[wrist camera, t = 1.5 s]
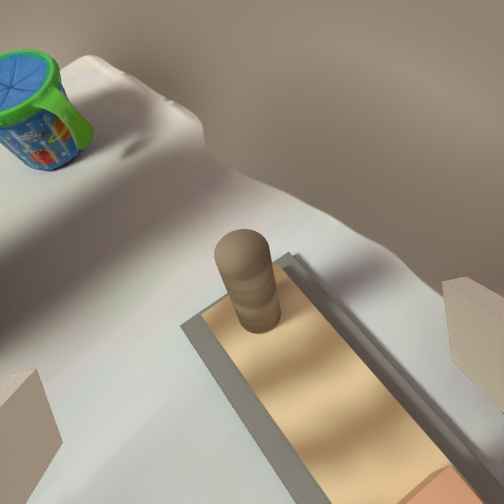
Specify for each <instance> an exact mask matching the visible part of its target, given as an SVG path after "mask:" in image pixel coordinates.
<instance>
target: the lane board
mask: <svg viewBox="0 0 504 504" xmlns="http://www.w3.org/2000/svg"><path fill="white" fill-rule="evenodd" d="M276 263H277V264H278V265H279V266H280V267H281V268H282V270H283V271H284V272H285V273H286V274H287V275H288V276H289V278H290V279H291V280H292V281H293V282H294V283H295V284H296V286H297V287H298V288H299V289H300V290H301V291H302V292H303V294H304V295H305V296H306V297H307V298H308V299H309V300H310V302H311V303H312V304H313V305H314V306H315V307H316V308H317V310H318V311H319V312H320V313H321V314H322V315H323V316H324V318H325V319H326V320H327V321H328V322H329V323H330V325H331V326H332V327H333V328H334V329H335V330H336V331H337V333H338V334H339V335H340V336H341V337H342V338H343V339H344V341H345V342H346V343H347V344H348V345H349V346H350V347H351V349H352V350H353V351H354V352H355V353H356V354H357V355H358V357H359V358H360V359H361V360H362V361H363V362H364V363H365V365H366V366H367V367H368V368H369V369H370V370H371V371H372V373H373V374H374V375H375V376H376V377H377V378H378V379H379V381H380V382H381V383H382V384H383V385H384V386H385V387H386V389H387V390H388V391H389V392H390V393H391V394H392V396H393V397H394V398H395V399H396V400H397V401H398V402H399V404H400V405H401V406H402V407H403V408H404V409H405V410H406V412H407V413H408V414H409V415H410V416H411V417H412V418H413V420H414V421H415V422H416V423H417V424H418V425H419V426H420V428H421V429H422V430H423V431H424V432H425V433H426V434H427V436H428V437H429V438H430V439H431V440H432V441H433V442H434V444H435V445H436V446H437V447H438V448H439V449H440V450H441V452H442V453H443V454H444V455H445V456H446V457H447V458H448V460H449V461H450V462H451V463H452V464H453V465H454V467H455V468H456V469H457V470H458V471H459V472H460V473H461V475H462V476H463V477H464V478H465V479H466V480H467V481H468V483H469V484H470V485H471V486H472V487H473V488H474V489H475V491H476V492H477V493H478V494H479V495H480V496H481V497H482V499H483V500H484V501H485V502H486V503H487V504H504V488H503V487H502V486H501V485H500V484H499V482H498V481H497V480H496V479H495V478H494V477H493V476H492V475H491V474H490V473H489V471H488V470H487V469H486V468H485V467H484V466H483V465H482V464H481V463H480V462H479V460H478V459H477V458H476V457H475V456H474V455H473V454H472V453H471V452H470V451H469V449H468V448H467V447H466V446H465V445H464V444H463V443H462V442H461V441H460V440H459V438H458V437H457V436H456V435H455V434H454V433H453V432H452V431H451V430H450V429H449V427H448V426H447V425H446V424H445V423H444V422H443V421H442V420H441V419H440V417H439V416H438V415H437V414H436V413H435V412H434V411H433V410H432V409H431V408H430V406H429V405H428V404H427V403H426V402H425V401H424V400H423V399H422V398H421V397H420V395H419V394H418V393H417V392H416V391H415V390H414V389H413V388H412V387H411V386H410V384H409V383H408V382H407V381H406V380H405V379H404V378H403V377H402V376H401V375H400V373H399V372H398V371H397V370H396V369H395V368H394V367H393V366H392V365H391V364H390V362H389V361H388V360H387V359H386V358H385V357H384V356H383V355H382V354H381V353H380V351H379V350H378V349H377V348H376V347H375V346H374V345H373V344H372V343H371V342H370V340H369V339H368V338H367V337H366V336H365V335H364V334H363V333H362V332H361V331H360V329H359V328H358V327H357V326H356V325H355V324H354V323H353V322H352V321H351V320H350V318H349V317H348V316H347V315H346V314H345V313H344V312H343V311H342V310H341V309H340V307H339V306H338V305H337V304H336V303H335V302H334V301H333V300H332V299H331V298H330V296H329V295H328V294H327V293H326V292H325V291H324V290H323V289H322V288H321V287H320V285H319V284H318V283H317V282H316V281H315V280H314V279H313V278H312V277H311V276H310V274H309V273H308V272H307V271H306V270H305V269H304V268H303V267H302V266H301V265H300V263H299V262H298V261H297V260H296V259H295V258H294V257H293V256H292V255H291V254H290V252H287V253H286V254H285V255H283V256H282V257H280V258H279V259H277V260H276V261H274V262H273V263H272V266H273V265H274V264H276ZM227 296H229V295H228V293H227V294H226V295H224V296H223V297H221V298H220V299H218V300H217V301H216V302H214V303H213V304H211V305H210V306H208V307H207V308H205V309H204V310H202V311H201V312H199V313H198V314H196V315H195V316H193V317H192V318H191V319H189V320H188V321H186V322H185V323H183V324H182V325H180V327H181V328H182V330H183V331H184V333H185V334H186V336H187V337H188V339H189V340H190V342H191V344H192V345H193V347H194V348H195V350H196V351H197V353H198V354H199V356H200V357H201V359H202V360H203V362H204V363H205V365H206V366H207V368H208V369H209V371H210V373H211V374H212V376H213V377H214V379H215V380H216V382H217V383H218V385H219V386H220V388H221V389H222V391H223V392H224V394H225V395H226V397H227V399H228V400H229V402H230V403H231V405H232V406H233V408H234V409H235V411H236V412H237V414H238V415H239V417H240V418H241V420H242V421H243V423H244V425H245V426H246V428H247V429H248V431H249V432H250V434H251V435H252V437H253V438H254V440H255V441H256V443H257V444H258V446H259V447H260V449H261V451H262V452H263V454H264V455H265V457H266V458H267V460H268V461H269V463H270V464H271V466H272V467H273V469H274V470H275V472H276V473H277V475H278V476H279V478H280V480H281V481H282V483H283V484H284V486H285V487H286V489H287V490H288V492H289V493H290V495H291V496H292V498H293V499H294V501H295V502H296V504H332V503H331V502H330V500H329V499H328V498H327V496H326V495H325V493H324V492H323V490H322V489H321V487H320V486H319V485H318V483H317V482H316V480H315V479H314V477H313V476H312V474H311V473H310V472H309V470H308V469H307V467H306V466H305V464H304V463H303V462H302V460H301V459H300V457H299V456H298V454H297V453H296V451H295V450H294V449H293V447H292V446H291V444H290V443H289V441H288V440H287V439H286V437H285V436H284V434H283V433H282V431H281V430H280V428H279V427H278V426H277V424H276V423H275V421H274V420H273V418H272V417H271V415H270V414H269V413H268V411H267V410H266V408H265V407H264V405H263V404H262V403H261V401H260V400H259V398H258V397H257V395H256V394H255V392H254V391H253V390H252V388H251V387H250V385H249V384H248V382H247V381H246V380H245V378H244V377H243V375H242V374H241V372H240V371H239V369H238V368H237V367H236V365H235V364H234V362H233V361H232V359H231V358H230V356H229V355H228V354H227V352H226V351H225V349H224V348H223V346H222V345H221V344H220V342H219V341H218V339H217V338H216V336H215V335H214V333H213V332H212V331H211V329H210V328H209V326H208V325H207V323H206V322H205V321H204V319H203V317H202V315H201V314H202V313H204V312H205V311H207V310H208V309H210V308H211V307H213V306H214V305H215V304H217V303H218V302H220V301H221V300H223V299H224V298H226V297H227Z"/></svg>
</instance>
